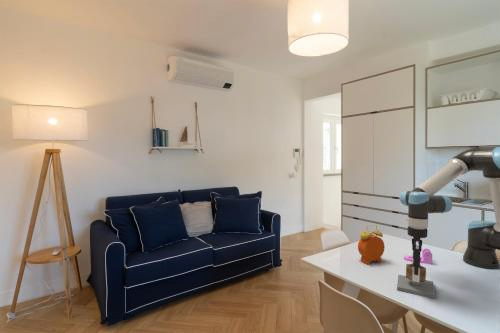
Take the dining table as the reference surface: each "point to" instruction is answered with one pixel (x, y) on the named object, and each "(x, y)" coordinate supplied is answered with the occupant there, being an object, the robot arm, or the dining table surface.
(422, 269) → the collar
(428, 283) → the post
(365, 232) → the alarm clock
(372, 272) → the dining table surface
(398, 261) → the dining table surface
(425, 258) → the bracket
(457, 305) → the dining table surface
